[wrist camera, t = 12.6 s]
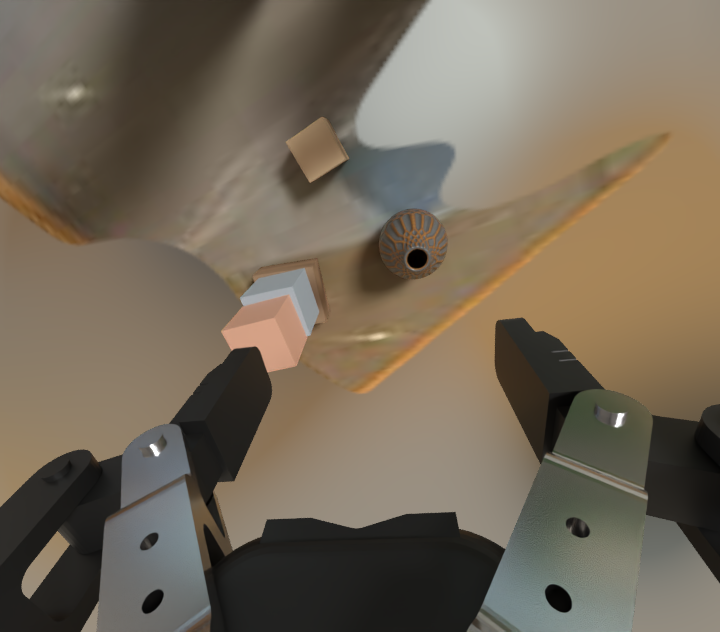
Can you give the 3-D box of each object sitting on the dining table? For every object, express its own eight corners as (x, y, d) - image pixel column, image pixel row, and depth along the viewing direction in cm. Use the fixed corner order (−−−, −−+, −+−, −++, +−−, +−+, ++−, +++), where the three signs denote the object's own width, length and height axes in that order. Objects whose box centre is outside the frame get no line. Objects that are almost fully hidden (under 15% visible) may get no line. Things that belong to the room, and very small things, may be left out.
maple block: (295, 142, 34) (285, 142, 30) (328, 119, 33) (322, 116, 29) (317, 179, 35) (309, 182, 32) (349, 158, 34) (345, 159, 31)
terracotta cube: (242, 306, 33) (221, 331, 28) (289, 294, 32) (274, 317, 27) (263, 348, 35) (245, 377, 30) (307, 337, 34) (296, 366, 30)
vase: (383, 269, 39) (384, 299, 31) (375, 209, 36) (372, 226, 28) (443, 261, 38) (458, 289, 30) (439, 199, 35) (455, 213, 27)
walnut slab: (262, 266, 40) (252, 275, 37) (317, 257, 39) (312, 266, 36) (278, 316, 43) (270, 329, 40) (330, 309, 42) (326, 322, 39)
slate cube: (258, 278, 37) (239, 298, 32) (304, 267, 36) (292, 286, 31) (275, 320, 40) (260, 344, 35) (319, 311, 39) (310, 335, 34)
